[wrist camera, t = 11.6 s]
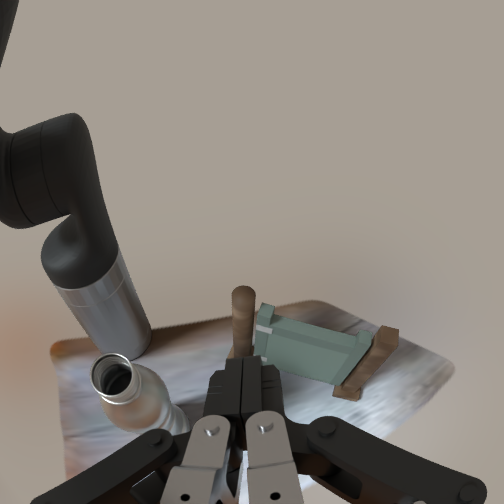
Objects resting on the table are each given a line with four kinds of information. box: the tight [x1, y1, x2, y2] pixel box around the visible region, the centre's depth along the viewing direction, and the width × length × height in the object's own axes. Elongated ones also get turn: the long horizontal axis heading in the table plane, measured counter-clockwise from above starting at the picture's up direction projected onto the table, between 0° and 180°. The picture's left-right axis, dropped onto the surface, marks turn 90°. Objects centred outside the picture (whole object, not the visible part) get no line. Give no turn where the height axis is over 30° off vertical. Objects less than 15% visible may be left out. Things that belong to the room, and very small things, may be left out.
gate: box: [254, 303, 372, 386], centre depth 34 cm, size 12×2×12 cm, turn 71°
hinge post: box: [227, 286, 256, 359], centre depth 36 cm, size 4×4×15 cm
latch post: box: [332, 325, 399, 401], centre depth 33 cm, size 4×4×15 cm
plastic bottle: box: [90, 353, 190, 436], centre depth 26 cm, size 6×7×20 cm
